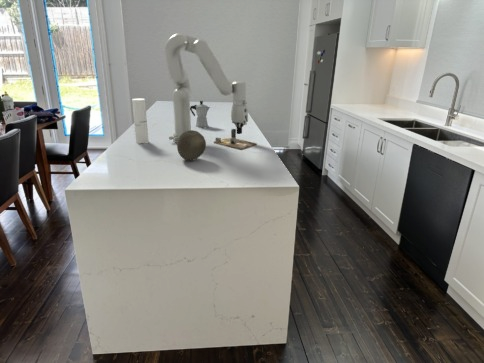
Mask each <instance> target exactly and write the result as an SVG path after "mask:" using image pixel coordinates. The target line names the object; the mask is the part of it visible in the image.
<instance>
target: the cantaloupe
mask: <svg viewBox="0 0 484 363" xmlns="http://www.w3.org/2000/svg"><path fill="white" fill-rule="evenodd" d="M206 141H207V140H206V139H205V137H204V136H203V135H202V134H201V132H200V131H197V130H194V129H191V130H189V131H186V132H184V133H182V134H181V135H180V137H179V139H178V142H176V144H177V145H176V149H177V153H178V155H179V156H180V157H181V158H182V159H184V160H185V161H188V162H189V161H190V162H191V161H195V160H197V159H198V158H199V157H201V156H202V155H203V154H204V152H205V151H206V147H207V142H206Z"/></svg>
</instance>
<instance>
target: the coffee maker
mask: <svg viewBox="0 0 484 363" xmlns="http://www.w3.org/2000/svg"><path fill="white" fill-rule="evenodd" d="M203 103H204V101H203V100H200V101H199V104H194V105H190V113H191V114H192V116H193V117H195V116H196V124H195V126H196V128H201V129H202V128H207V127H208V126H209V125H208V120H207V119H208V118H207V115H208V111H209V110H210V109H211V106H208V105H206V104H203ZM194 110H195V111H196V114H195V112H194Z"/></svg>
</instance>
